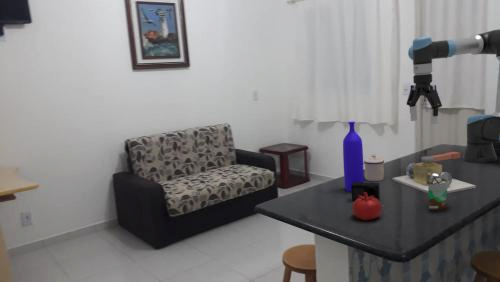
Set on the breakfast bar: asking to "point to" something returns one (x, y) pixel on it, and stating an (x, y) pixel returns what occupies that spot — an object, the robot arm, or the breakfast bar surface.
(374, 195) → the digital camera
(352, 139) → the bottle
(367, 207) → the pomegranate
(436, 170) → the valve body
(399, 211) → the breakfast bar surface
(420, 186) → the mounting board
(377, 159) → the teacup with lid
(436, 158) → the lever
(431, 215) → the breakfast bar surface
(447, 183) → the food container
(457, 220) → the breakfast bar surface
